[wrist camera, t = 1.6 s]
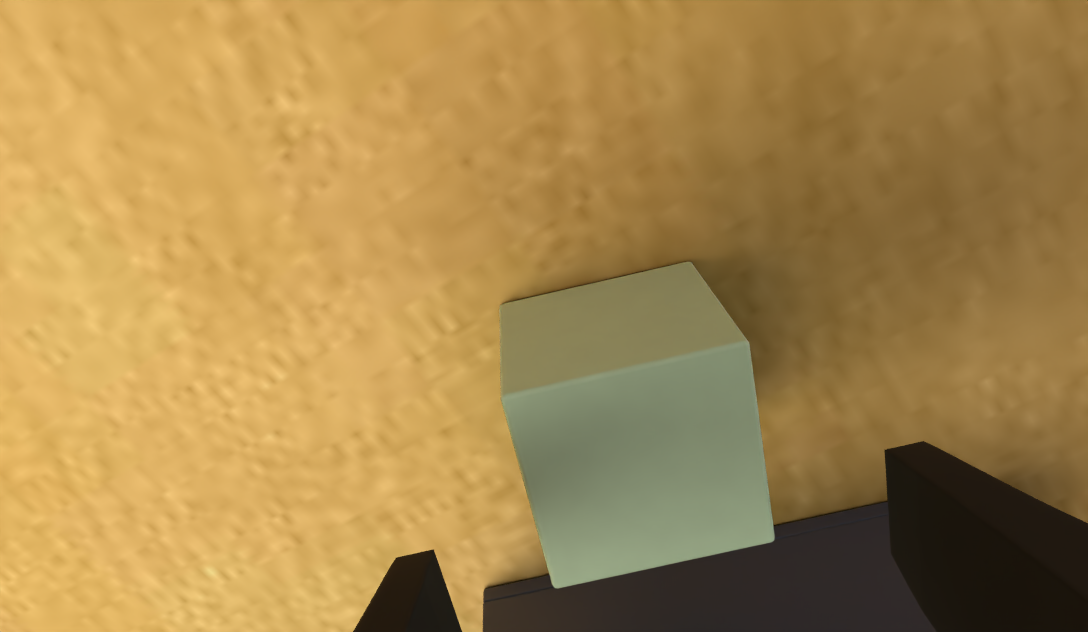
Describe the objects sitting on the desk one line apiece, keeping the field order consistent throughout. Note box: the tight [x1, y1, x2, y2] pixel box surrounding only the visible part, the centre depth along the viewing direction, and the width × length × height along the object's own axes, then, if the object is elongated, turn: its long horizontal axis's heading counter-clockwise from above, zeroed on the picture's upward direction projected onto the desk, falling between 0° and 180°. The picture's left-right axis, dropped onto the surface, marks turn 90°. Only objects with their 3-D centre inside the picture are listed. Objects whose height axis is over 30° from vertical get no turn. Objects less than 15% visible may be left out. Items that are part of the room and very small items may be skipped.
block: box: [499, 262, 775, 588], centre depth 16 cm, size 4×4×4 cm
